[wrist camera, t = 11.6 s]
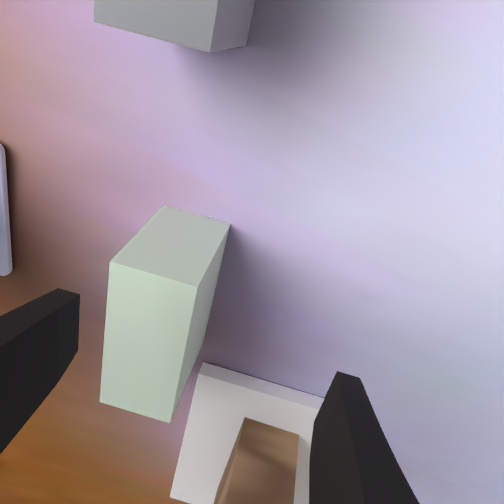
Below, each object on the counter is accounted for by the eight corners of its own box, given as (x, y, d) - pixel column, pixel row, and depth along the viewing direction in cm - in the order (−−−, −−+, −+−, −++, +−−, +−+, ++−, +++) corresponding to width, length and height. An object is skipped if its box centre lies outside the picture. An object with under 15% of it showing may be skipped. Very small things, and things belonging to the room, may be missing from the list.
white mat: (174, 484, 32) (169, 497, 31) (202, 361, 26) (198, 373, 25) (300, 523, 32) (300, 537, 31) (362, 409, 25) (363, 423, 25)
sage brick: (147, 324, 25) (99, 401, 20) (164, 204, 21) (110, 261, 16) (203, 341, 25) (170, 423, 20) (230, 223, 21) (197, 287, 16)
